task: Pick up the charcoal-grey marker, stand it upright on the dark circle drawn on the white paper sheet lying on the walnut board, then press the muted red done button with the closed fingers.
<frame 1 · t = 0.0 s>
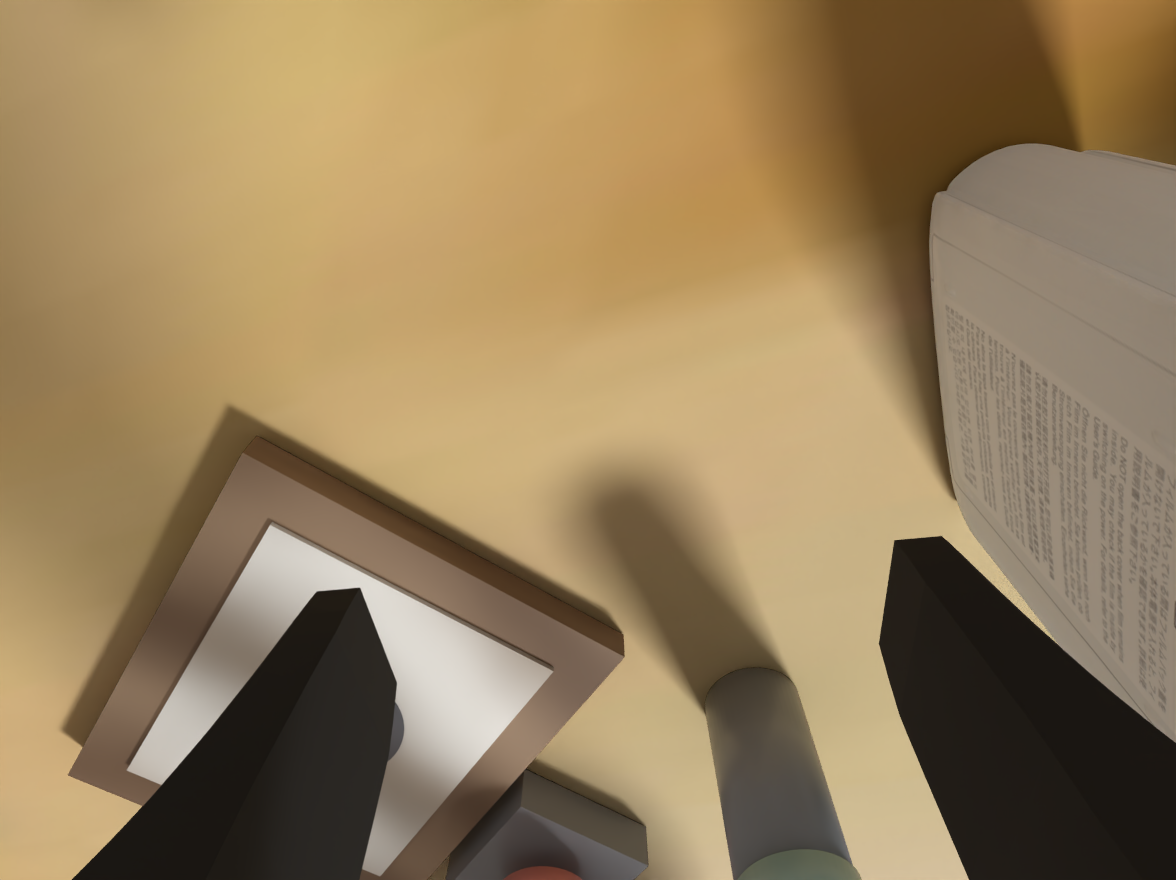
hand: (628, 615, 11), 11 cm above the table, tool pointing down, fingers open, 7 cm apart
sketch board: (342, 695, 26), on the table
marker: (751, 704, 26), on the table
button base: (547, 839, 29), on the table
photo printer: (1009, 347, 21), on the table
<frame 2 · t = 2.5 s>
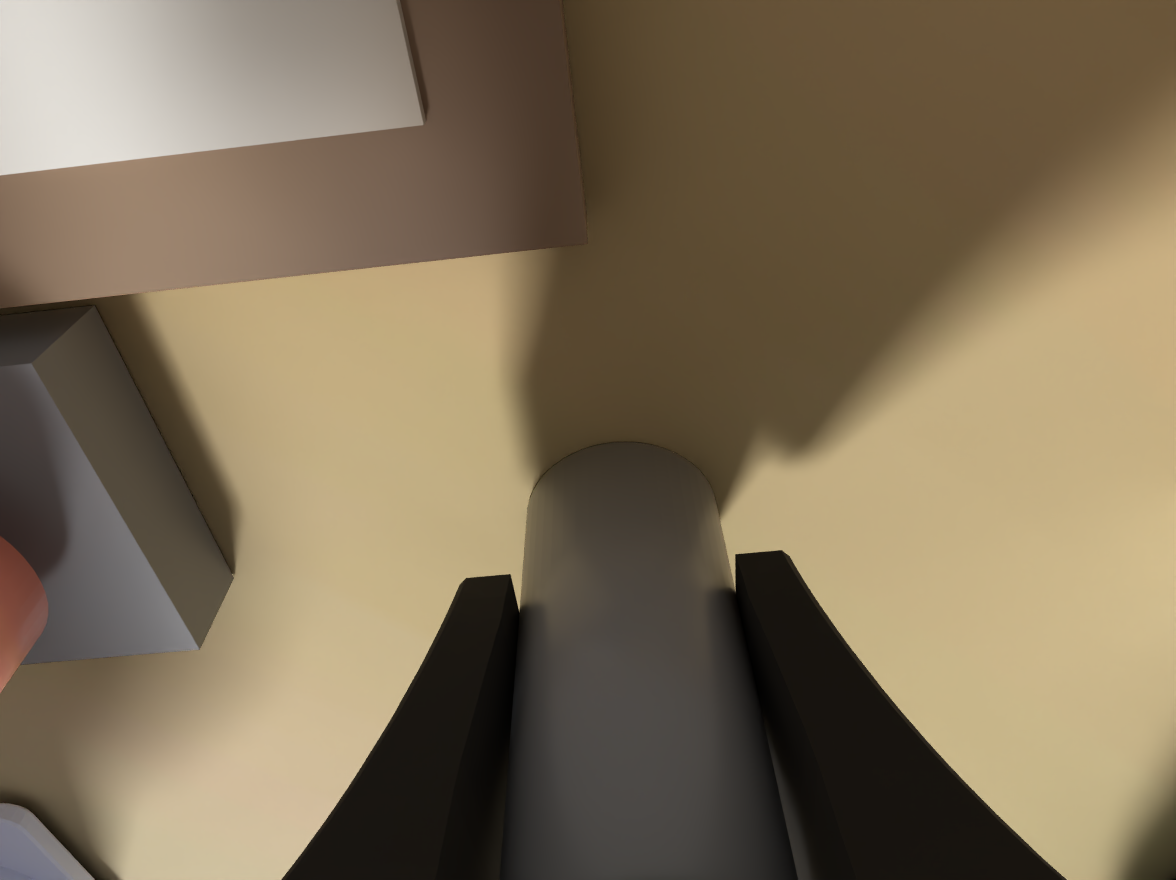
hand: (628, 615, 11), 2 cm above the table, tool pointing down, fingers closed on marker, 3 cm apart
marker: (621, 518, 13), on the table, touching gripper
button base: (11, 474, 12), on the table
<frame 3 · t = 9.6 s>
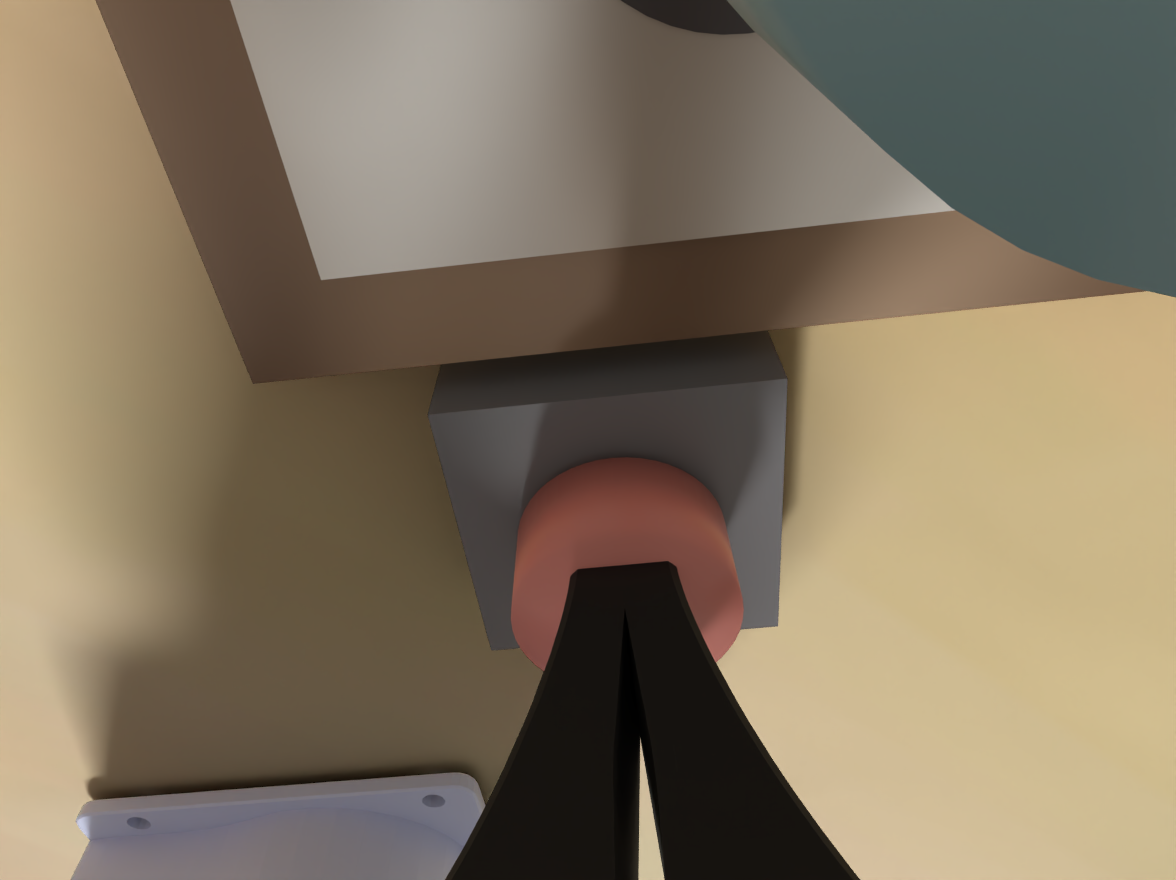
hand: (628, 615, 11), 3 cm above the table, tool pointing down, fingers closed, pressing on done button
done button: (624, 578, 12), point 3 cm above the table, slide at 0.5 cm, touching gripper
button base: (616, 472, 14), on the table
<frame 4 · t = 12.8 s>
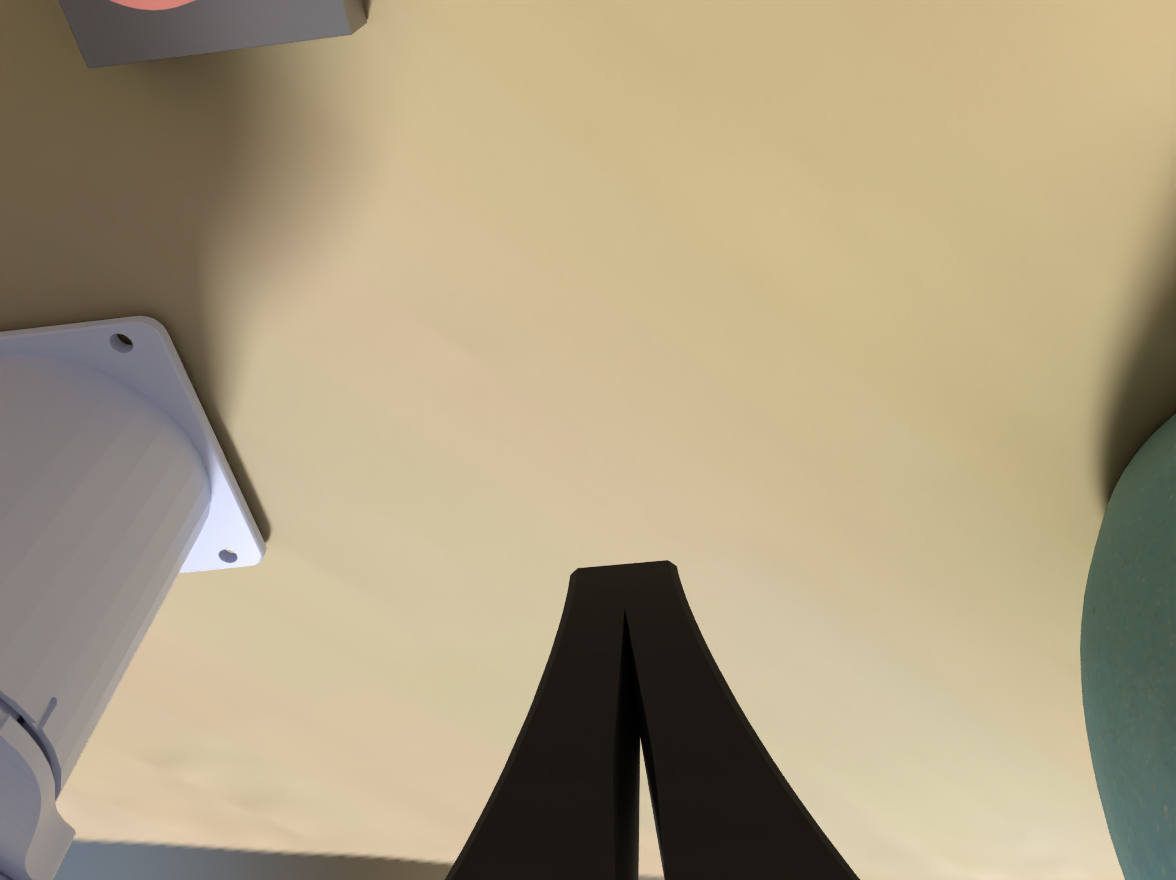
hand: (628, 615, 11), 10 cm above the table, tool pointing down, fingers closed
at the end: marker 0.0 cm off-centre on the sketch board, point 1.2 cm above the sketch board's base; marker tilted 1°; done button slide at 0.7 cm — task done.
